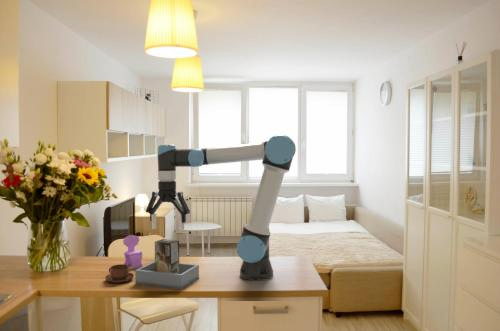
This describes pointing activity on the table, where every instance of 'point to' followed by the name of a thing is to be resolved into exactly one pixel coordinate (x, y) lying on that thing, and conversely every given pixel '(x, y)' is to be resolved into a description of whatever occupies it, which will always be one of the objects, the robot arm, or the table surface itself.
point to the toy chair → (132, 252)
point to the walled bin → (167, 276)
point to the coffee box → (167, 256)
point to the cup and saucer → (119, 274)
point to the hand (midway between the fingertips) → (167, 229)
